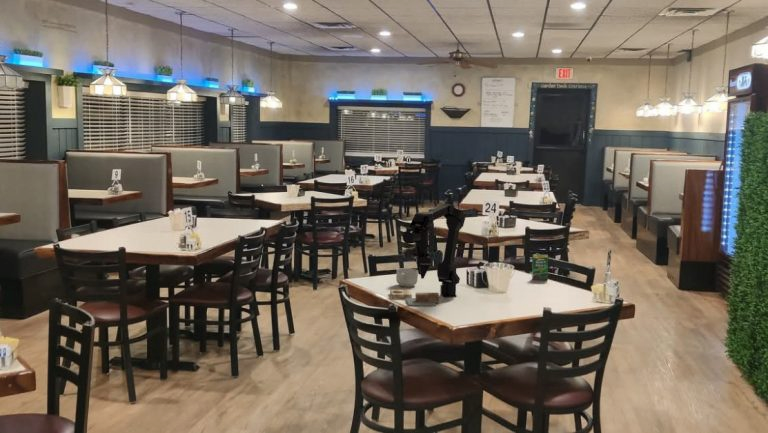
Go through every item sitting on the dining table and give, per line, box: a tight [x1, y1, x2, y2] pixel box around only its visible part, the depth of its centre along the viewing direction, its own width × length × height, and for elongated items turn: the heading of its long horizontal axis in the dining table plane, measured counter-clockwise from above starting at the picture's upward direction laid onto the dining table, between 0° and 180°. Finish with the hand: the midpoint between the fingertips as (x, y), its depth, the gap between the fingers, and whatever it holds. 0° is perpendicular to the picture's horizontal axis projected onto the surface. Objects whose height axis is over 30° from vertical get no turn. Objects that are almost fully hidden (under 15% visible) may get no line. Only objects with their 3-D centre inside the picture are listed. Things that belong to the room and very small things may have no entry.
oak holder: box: [389, 289, 413, 300], centre depth 344 cm, size 9×10×2 cm
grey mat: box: [405, 297, 437, 307], centre depth 332 cm, size 12×12×1 cm
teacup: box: [395, 267, 419, 288], centre depth 366 cm, size 14×11×8 cm
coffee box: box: [531, 254, 549, 281], centre depth 388 cm, size 8×3×13 cm, turn 87°
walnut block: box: [415, 292, 440, 303], centre depth 332 cm, size 4×4×10 cm
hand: (421, 276), depth 330 cm, fingers open, 9 cm apart
